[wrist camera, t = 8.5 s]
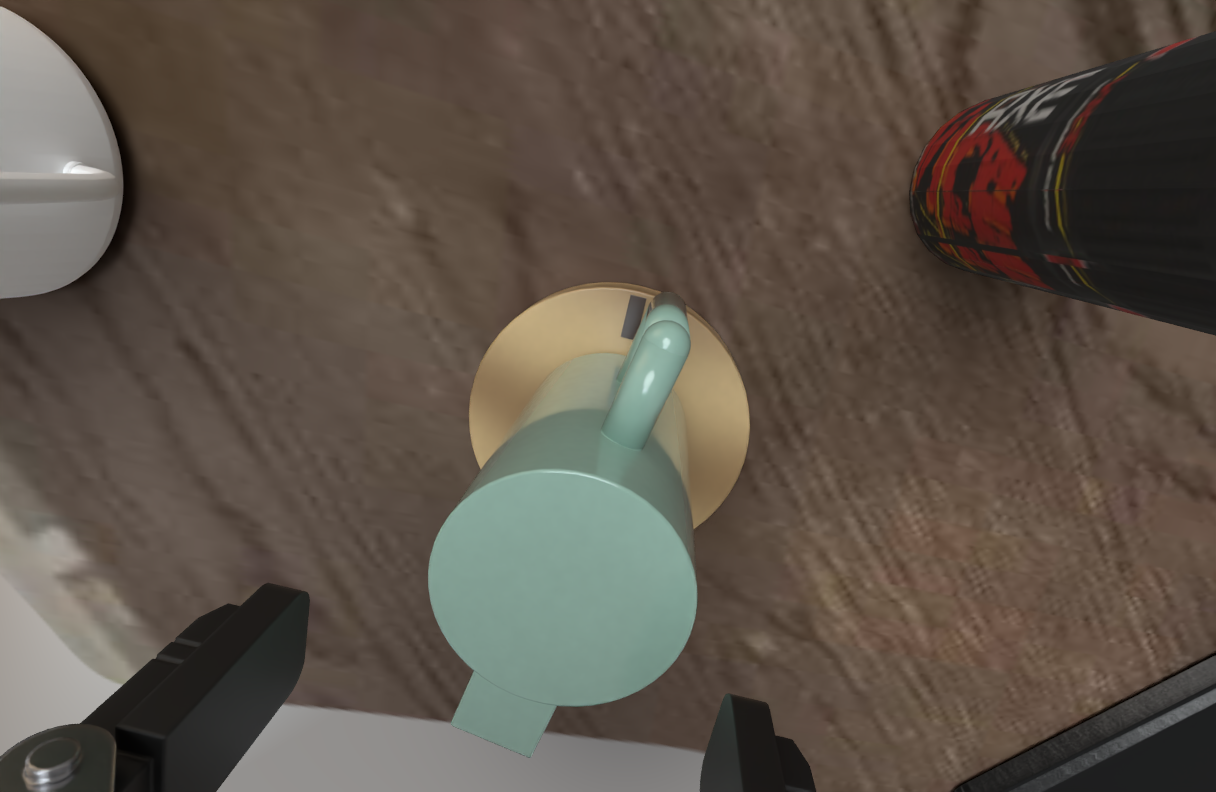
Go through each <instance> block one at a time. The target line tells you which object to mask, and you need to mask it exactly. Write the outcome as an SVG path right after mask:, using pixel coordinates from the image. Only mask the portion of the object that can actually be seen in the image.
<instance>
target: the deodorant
mask: <svg viewBox="0 0 1216 792" xmlns="http://www.w3.org/2000/svg"><path fill="white" fill-rule="evenodd" d="M910 211H911V216H912V219H913V222H914V225H915V228H916V231H917V234H918V236H919V237H920V238H921V240H922V241H923V243H924V244H925V245H926V247H927V248H928V250H929V251H930V252H932V253H933V254H934V255H935V256H937V257H938V258H939V259H941V260H942V261H943V262H944V263H946V264H949V265H951V266H954V267H956V268H959V269H962V270H964V271H968V272H972V273H976V274H979V275H983V276H987V277H991V278H995V279H999V280H1003V281H1007V282H1010V283H1014V284H1018V285H1022V286H1026V287H1030V288H1034V289H1038V290H1041V291H1045V292H1049V293H1053V294H1057V295H1061V296H1065V297H1069V298H1072V299H1076V300H1080V301H1084V302H1088V303H1092V304H1096V305H1100V306H1103V307H1107V308H1111V309H1115V310H1119V311H1123V312H1127V313H1131V314H1135V315H1138V316H1142V317H1146V318H1150V319H1154V320H1158V321H1162V322H1166V323H1169V324H1173V325H1177V326H1181V327H1185V328H1189V329H1193V330H1197V331H1200V332H1204V333H1208V334H1212V335H1216V31H1215V32H1212V33H1208V34H1205V35H1202V36H1198V37H1195V38H1192V39H1189V40H1185V41H1182V42H1179V43H1175V44H1172V45H1169V46H1165V47H1162V48H1159V49H1155V50H1152V51H1149V52H1145V53H1142V54H1139V55H1135V56H1132V57H1129V58H1125V59H1122V60H1119V61H1115V62H1112V63H1109V64H1105V65H1102V66H1099V67H1095V68H1092V69H1089V70H1085V71H1082V72H1079V73H1075V74H1072V75H1069V76H1065V77H1062V78H1059V79H1055V80H1052V81H1049V82H1045V83H1042V84H1039V85H1035V86H1032V87H1029V88H1025V89H1022V90H1019V91H1015V92H1012V93H1009V94H1005V95H1002V96H999V97H995V98H992V99H989V100H985V101H983V102H981V103H978V104H976V105H974V106H972V107H970V108H968V109H965V110H963V111H961V112H960V113H958V114H957V115H956V116H955V117H953V118H952V119H951V120H949V121H948V122H947V123H946V124H944V125H943V126H942V127H941V128H940V129H939V130H938V131H937V133H936V134H935V135H934V136H933V138H932V139H931V140H930V141H929V143H928V144H927V145H926V146H925V148H924V150H923V152H922V154H921V156H920V158H919V160H918V162H917V164H916V167H915V169H914V173H913V178H912V182H911V187H910Z"/></svg>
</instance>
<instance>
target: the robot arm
mask: <svg viewBox="0 0 1216 792" xmlns="http://www.w3.org/2000/svg"><path fill="white" fill-rule="evenodd" d="M309 604H310V599H309V594H308V593H307V592H305V591H301V590H296V589H292V588H288V587H284V586H280V585H275V584H271V583H266V584H264V585H262V586H261V587H260V588H259V589H258V590H257V591H256V592H255V593H254V594H253V595H252V596H251V597H250V598H249V599H247V600H246V601H245V602H244V603H243V604H242V605H241V606H237V605H232V604H226V605H224V606H222V607H220V608H218V609H216V610H214V611H212V612H210V613H207V614H205V615H203V616H201V617H199V618H198V619H196V620H195V621H194V622H193V623H192V624H191V625H190V626H189V627H188V628H186V629H185V630H184V631H183V632H182V633H181V634H180V635H179V636H177V637H176V640H175V641H174V642H171V643H170V644H169V645H167V646H166V647H165V648H164V649H163V650H162V651H161V652H160V653H158V654H157V657H156V659H152V660H151V661H150V662H148V663H147V664H146V665H145V666H144V667H143V668H142V669H141V670H139V671H138V672H137V673H136V674H135V675H134V676H133V677H132V678H131V679H129V680H128V681H127V682H126V683H125V684H124V685H123V686H122V687H120V688H119V689H118V690H117V691H116V692H115V693H114V694H113V695H112V696H110V697H109V698H108V699H107V700H106V701H105V702H104V703H103V704H101V705H100V706H99V707H98V708H97V709H96V710H95V711H94V712H93V713H92V714H90V715H89V716H88V717H87V718H86V719H85V720H84V721H82V722H81V723H80V724H69V725H63V726H58V727H54V728H51V729H47V730H45V731H42V732H39V733H36V734H34V735H32V736H30V737H28V738H26V739H25V740H22V741H21V742H20V743H17V744H16V745H15V746H13V747H12V748H10V749H9V750H7V751H6V752H5V753H4V754H3V755H2V756H0V792H216V791H217V790H218V788H219V787H220V786H221V784H222V783H223V782H224V781H225V779H226V778H227V777H228V775H229V774H230V772H231V771H232V770H233V769H234V767H235V766H236V765H237V763H238V762H239V761H240V759H241V758H242V757H243V756H244V754H245V753H246V752H247V750H248V749H249V748H250V746H251V745H252V744H253V742H254V741H255V740H256V738H257V737H258V736H259V734H260V733H261V732H262V730H263V729H264V728H265V726H266V725H267V724H268V723H269V721H270V720H271V719H272V717H273V716H274V715H275V713H276V712H277V711H278V709H279V708H280V707H281V706H282V704H283V703H284V702H285V700H286V699H287V698H288V696H289V695H290V694H291V692H292V690H293V689H294V687H295V685H296V683H297V681H298V679H299V676H300V674H301V671H302V668H303V664H304V659H305V649H306V638H307V626H308V615H309ZM700 792H816V789H815V785H814V781H813V777H812V773H811V769H810V766H809V764H808V762H807V761H806V759H805V758H804V756H803V755H802V753H801V752H800V750H799V749H798V747H797V746H796V744H795V743H794V741H793V740H792V739H788V738H784V737H780V736H775V733H774V728H773V723H772V718H771V713H770V709H769V706H768V704H767V703H766V702H762V701H758V700H754V699H749V698H745V697H741V696H737V695H733V694H726V695H725V697H724V699H723V701H722V704H721V707H720V710H719V713H718V716H717V719H716V722H715V725H714V729H713V732H712V735H711V738H710V741H709V744H708V747H707V750H706V753H705V756H704V760H703V765H702V771H701V780H700Z"/></svg>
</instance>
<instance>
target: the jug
mask: <svg viewBox="0 0 1216 792" xmlns="http://www.w3.org/2000/svg"><path fill="white" fill-rule="evenodd" d="M690 349H691V340H690V332H689V324H688V317H687V309H686V305H685V302H684V301H683V299H682V298H681V297H680V296H679V295H677V294H675V293H673V292H663V293H660V294H658V295H656V296H655V297H654V298H653V299H652V300H651V302H650V304H649V306H648V308H647V310H646V313H645V315H644V317H643V319H642V321H641V324H640V326H639V328H638V330H637V333H636V335H635V337H634V339H633V341H632V344H631V346H630V348H629V350H628V353H627V355H626V356H625V355H620V354H613V353H594V354H588V355H583V356H580V357H577V358H574V359H572V360H570V361H567V362H565V363H564V364H562V365H560V366H559V367H557V368H556V369H555V370H553V371H552V372H551V373H550V374H549V375H548V376H547V377H546V378H545V379H544V380H543V381H542V383H541V384H540V385H539V387H538V388H537V390H536V391H535V393H534V394H533V395H532V397H531V398H530V400H529V401H528V403H527V404H526V406H525V407H524V408H523V410H522V411H521V413H520V414H519V416H518V417H517V418H516V420H515V421H514V423H513V424H512V426H511V427H510V429H509V430H508V431H507V433H506V434H505V436H504V437H503V439H502V440H501V441H500V443H499V444H498V446H497V447H496V449H495V450H494V452H493V453H492V454H491V456H490V457H489V459H488V460H487V462H486V463H485V464H484V466H483V467H482V469H481V470H480V472H479V473H478V475H477V476H476V477H475V479H474V480H473V482H472V483H471V485H470V486H469V487H468V489H467V490H466V492H465V493H464V495H463V496H462V498H461V499H460V500H459V502H458V503H457V505H456V506H455V508H454V509H453V510H452V512H451V513H450V515H449V516H448V518H447V519H446V521H445V522H444V524H443V525H442V527H441V529H440V531H439V533H438V535H437V537H436V539H435V542H434V545H433V548H432V551H431V555H430V561H429V568H428V588H429V594H430V601H431V605H432V608H433V611H434V615H435V618H436V620H437V622H438V624H439V627H440V629H441V631H442V633H443V634H444V636H445V638H446V639H447V641H448V642H449V644H450V645H451V647H452V648H453V649H454V650H455V652H456V653H457V654H458V655H459V657H460V658H461V659H462V660H463V661H464V662H465V663H466V664H467V665H468V666H469V667H470V668H471V669H473V672H472V675H471V677H470V679H469V681H468V684H467V686H466V688H465V690H464V693H463V695H462V697H461V700H460V702H459V704H458V707H457V709H456V712H455V714H454V716H453V719H452V721H451V725H452V726H454V727H456V728H458V729H461V730H463V731H466V732H468V733H471V734H473V735H475V736H478V737H480V738H483V739H485V740H487V741H490V742H492V743H495V744H497V745H499V746H502V747H504V748H507V749H509V750H512V751H514V752H516V753H519V754H521V755H524V756H526V757H528V758H530V757H531V756H532V754H533V753H534V751H535V749H536V747H537V744H538V743H539V741H540V739H541V737H542V735H543V733H544V731H545V729H546V727H547V725H548V723H549V721H550V719H551V717H552V715H553V713H554V711H555V709H556V707H557V706H572V707H580V706H591V705H598V704H603V703H608V702H612V701H615V700H618V699H621V698H624V697H627V696H629V695H631V694H633V693H635V692H637V691H640V690H641V689H643V688H644V687H646V686H648V685H649V684H651V683H652V682H654V681H655V680H656V679H657V678H658V677H660V676H661V675H662V674H663V673H664V672H665V671H666V670H667V669H668V668H669V667H670V666H671V665H672V664H673V663H674V661H675V660H676V659H677V657H678V656H679V654H680V653H681V651H682V650H683V648H684V647H685V645H686V643H687V641H688V638H689V636H690V634H691V632H692V628H693V625H694V621H695V618H696V611H697V603H698V597H697V574H696V559H695V544H694V529H693V513H692V498H691V483H690V468H689V452H688V437H687V424H686V417H685V413H684V410H683V406H682V404H681V402H680V399H679V397H678V395H677V394H676V392H675V391H674V389H673V387H674V385H675V382H676V380H677V378H678V376H679V374H680V372H681V370H682V368H683V366H684V364H685V362H686V360H687V357H688V355H689V353H690Z"/></svg>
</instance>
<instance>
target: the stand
mask: <svg viewBox="0 0 1216 792" xmlns="http://www.w3.org/2000/svg"><path fill="white" fill-rule="evenodd" d="M660 293H662V292H659V291H656V290H653V289H650V288H647V287H643V286H639V285H633V284H627V283H617V282H599V283H589V284H583V285H579V286H574V287H570V288H567V289H564V290H561V291H559V292H556V293H553V294H551V295H549V296H547V297H545V298H544V299H542V300H540V301H538V302H536V303H535V304H533V305H532V306H531V307H529V308H528V309H527V310H525V311H524V312H522V313H521V314H520V315H519V316H517V317H516V318H515V319H514V320H513V321H511V322H510V323H509V324H508V325H507V326H506V327H505V328H504V329H503V330H502V331H501V332H500V334H499V335H498V336H497V337H496V339H495V340H494V341H493V343H492V344H491V345H490V347H489V348H488V350H487V352H486V354H485V355H484V357H483V359H482V361H481V363H480V365H479V368H478V371H477V373H476V376H475V378H474V382H473V387H472V391H471V395H470V405H469V429H470V435H471V441H472V446H473V449H474V453H475V456H476V459H477V462H478V464H479V467H480V469H482V467H483V466H484V464H485V463H486V462H487V460H488V459H489V457H490V456H491V454H492V453H493V452H494V450H495V449H496V447H497V446H498V444H499V443H500V441H501V440H502V439H503V437H504V436H505V434H506V433H507V431H508V430H509V429H510V427H511V426H512V424H513V423H514V421H515V420H516V418H517V417H518V416H519V414H520V413H521V411H522V410H523V408H524V407H525V406H526V404H527V403H528V401H529V400H530V398H531V397H532V395H533V394H534V393H535V391H536V390H537V388H538V387H539V385H540V384H541V383H542V381H543V380H544V379H545V378H546V377H547V376H548V375H549V374H550V373H551V372H552V371H553V370H555V369H556V368H557V367H559V366H560V365H562V364H564V363H565V362H567V361H570V360H572V359H574V358H577V357H580V356H583V355H588V354H594V353H613V354H620V355H625V356H626V355H627V353H628V350H629V348H630V346H631V344H632V341H633V339H634V337H635V335H636V333H637V330H638V328H639V326H640V324H641V321H642V319H643V317H644V315H645V313H646V310H647V308H648V306H649V304H650V302H651V300H652V299H653V298H654V297H655V296H656V295H658V294H660ZM686 309H687V317H688V324H689V332H690V340H691V349H690V353H689V355H688V357H687V360H686V362H685V364H684V366H683V368H682V370H681V372H680V374H679V376H678V378H677V380H676V382H675V385H674V387H673V389H674V391H675V392H676V394H677V395H678V397H679V399H680V402H681V404H682V406H683V410H684V413H685V417H686V424H687V437H688V452H689V468H690V483H691V498H692V513H693V529H695V528H696V527H697V526H699V525H700V524H701V523H703V522H704V521H705V520H706V519H708V518H709V517H710V516H711V515H712V514H713V513H714V512H715V511H716V510H717V509H718V507H719V506H720V505H721V504H722V502H723V501H724V500H725V498H726V497H727V496H728V495H729V493H730V491H731V490H732V488H733V486H734V484H735V483H736V481H737V479H738V477H739V474H740V472H741V469H742V467H743V464H744V461H745V457H746V453H747V449H748V444H749V433H750V415H749V406H748V400H747V395H746V391H745V388H744V385H743V382H742V379H741V376H740V373H739V370H738V368H737V365H736V363H735V361H734V359H733V357H732V355H731V353H730V351H729V349H728V348H727V346H726V345H725V344H724V342H723V341H722V339H721V338H720V336H719V335H718V334H717V333H716V331H715V330H714V329H713V328H712V327H711V326H710V325H709V324H708V323H707V322H706V321H705V320H704V319H703V318H702V317H701V316H699V315H698V314H697V313H696V312H695V311H693V310H692V309H691V308H689V307H688V306H686Z"/></svg>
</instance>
